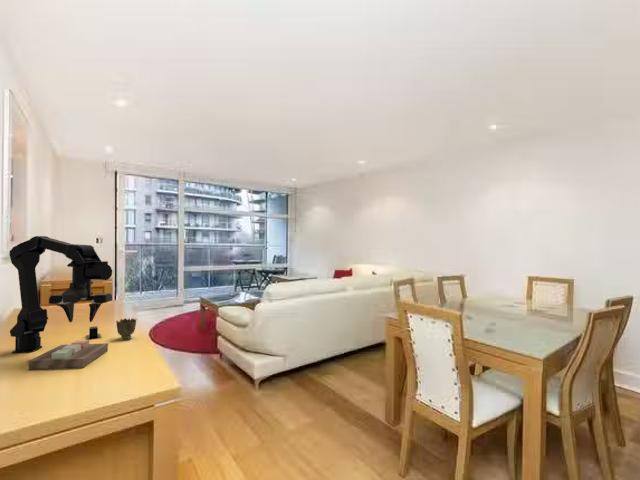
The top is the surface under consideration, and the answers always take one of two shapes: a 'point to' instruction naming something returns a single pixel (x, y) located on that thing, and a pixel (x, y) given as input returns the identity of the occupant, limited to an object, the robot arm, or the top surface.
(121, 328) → the cup
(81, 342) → the terracotta button
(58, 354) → the sage button
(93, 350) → the brown wooden tray
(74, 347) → the ivory button
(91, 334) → the black block on base
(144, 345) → the top surface
